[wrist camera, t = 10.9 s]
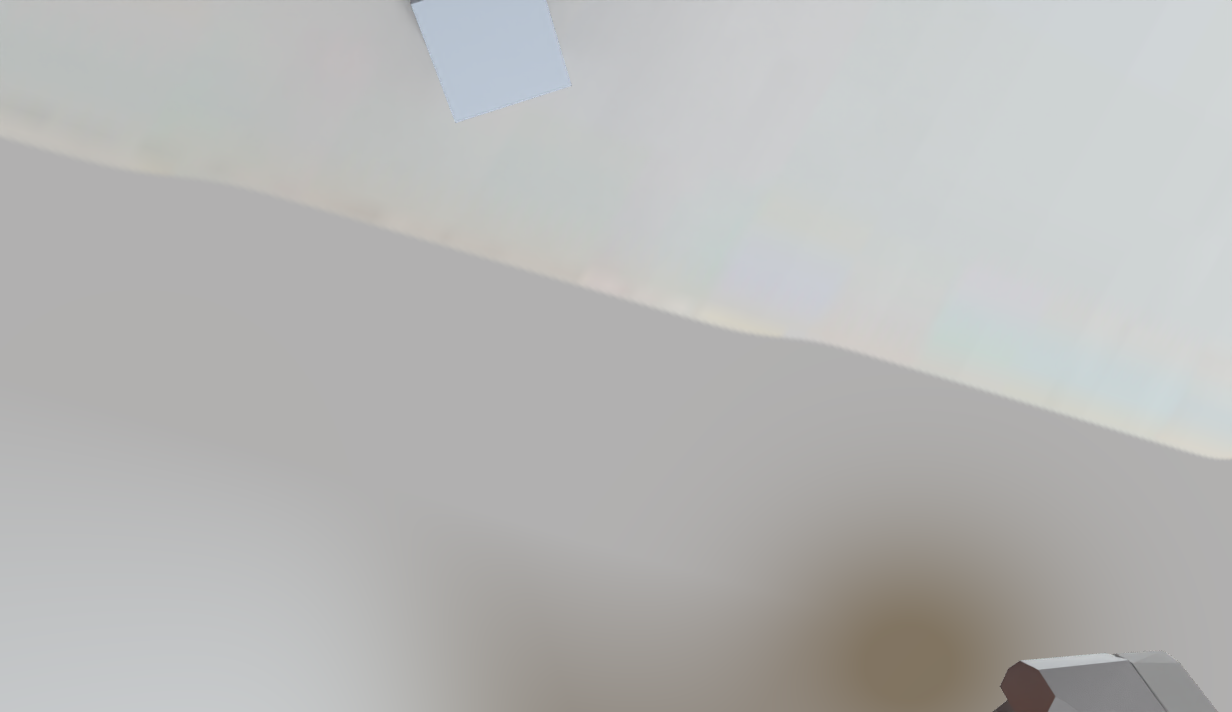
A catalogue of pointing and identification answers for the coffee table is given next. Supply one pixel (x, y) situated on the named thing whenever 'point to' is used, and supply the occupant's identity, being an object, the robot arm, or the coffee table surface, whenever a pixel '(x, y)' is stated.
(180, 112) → the coffee table surface
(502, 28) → the slate block
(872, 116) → the coffee table surface
